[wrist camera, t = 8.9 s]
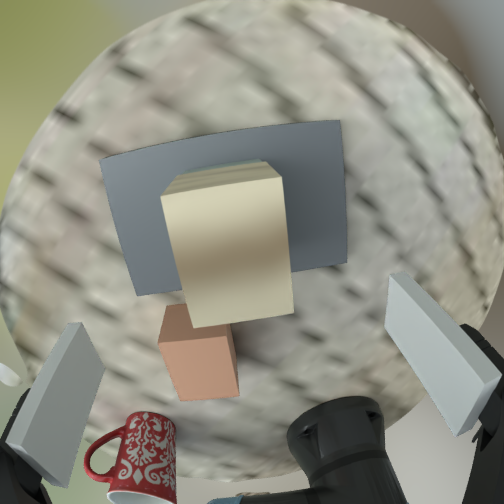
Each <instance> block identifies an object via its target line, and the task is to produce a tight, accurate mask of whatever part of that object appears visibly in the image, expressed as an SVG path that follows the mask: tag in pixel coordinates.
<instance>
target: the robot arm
mask: <svg viewBox="0 0 504 504" xmlns="http://www.w3.org/2000/svg"><path fill="white" fill-rule="evenodd" d="M384 327H385V329H386V330H387V332H388V333H389V335H390V336H391V338H392V339H393V341H394V342H395V343H396V345H397V346H398V348H399V349H400V351H401V352H402V354H403V355H404V357H405V358H406V360H407V361H408V363H409V364H410V366H411V367H412V369H413V370H414V372H415V374H416V375H417V377H418V378H419V380H420V381H421V383H422V384H423V386H424V387H425V389H426V391H427V392H428V394H429V395H430V397H431V399H432V400H433V402H434V403H435V405H436V407H437V408H438V410H439V411H440V413H441V415H442V416H443V418H444V420H445V421H446V423H447V425H448V426H449V428H450V430H451V431H452V433H453V435H454V436H455V437H457V436H459V435H461V434H463V433H465V432H466V431H468V430H470V429H472V428H473V426H474V425H475V423H476V421H477V420H478V419H479V420H480V421H481V423H482V425H481V427H480V428H479V430H478V432H477V433H476V434H475V436H474V437H473V440H472V442H473V443H474V442H475V440H476V439H477V438H478V441H477V446H476V451H475V456H474V461H473V465H472V469H471V473H470V477H469V481H468V485H467V488H466V492H465V495H464V499H463V502H462V504H504V359H503V358H502V357H501V355H499V354H498V352H497V351H496V350H495V349H494V348H493V347H491V345H490V344H489V342H488V341H487V340H485V339H484V337H483V336H482V335H481V334H480V333H479V332H478V331H477V330H476V329H474V328H473V327H471V326H469V325H467V324H462V325H460V326H459V325H458V324H457V323H456V322H455V321H454V320H453V319H452V318H451V317H450V316H449V315H448V314H447V313H446V312H445V311H444V310H443V309H442V308H441V307H440V306H439V305H438V304H437V302H436V301H435V300H434V299H433V298H432V297H431V296H430V295H429V294H428V293H427V292H426V291H425V290H423V289H422V288H421V287H420V286H419V285H418V284H417V283H416V282H415V281H414V280H413V279H412V278H411V277H410V276H409V275H408V274H407V273H406V272H401V273H396V274H391V275H390V277H389V289H388V299H387V308H386V317H385V325H384ZM104 371H105V367H104V365H103V363H102V362H101V360H100V358H99V356H98V354H97V352H96V350H95V348H94V346H93V344H92V342H91V340H90V338H89V336H88V334H87V332H86V330H85V328H84V325H83V323H82V322H78V323H68V325H67V326H66V328H65V330H64V331H63V333H62V334H61V336H60V338H59V339H58V341H57V343H56V344H55V346H54V348H53V350H52V351H51V353H50V355H49V356H48V358H47V360H46V362H45V364H44V365H43V367H42V369H41V371H40V373H39V374H38V376H37V378H36V380H35V382H34V384H33V386H32V387H31V388H29V389H28V390H27V391H26V392H25V393H24V394H23V395H22V396H21V398H20V400H19V401H18V403H17V405H16V408H15V409H14V411H13V413H12V416H11V417H10V419H9V422H8V423H7V426H6V428H5V430H4V432H3V434H2V436H1V439H0V504H52V502H51V500H50V498H49V495H48V493H47V491H46V489H45V487H44V486H43V484H42V483H41V480H42V477H43V478H44V479H45V480H46V481H48V482H49V483H50V484H51V485H54V486H59V487H64V488H68V485H69V481H70V477H71V473H72V469H73V466H74V462H75V459H76V455H77V452H78V448H79V445H80V442H81V439H82V435H83V432H84V429H85V426H86V423H87V420H88V417H89V413H90V410H91V408H92V405H93V402H94V399H95V396H96V393H97V390H98V387H99V385H100V382H101V379H102V376H103V374H104ZM384 432H385V431H384V417H383V414H382V412H381V410H380V408H379V406H378V404H377V403H376V402H375V401H374V400H372V399H369V398H366V397H347V398H341V399H337V400H333V401H330V402H327V403H324V404H321V405H319V406H317V407H315V408H313V409H311V410H309V411H307V412H306V413H304V414H303V415H301V416H300V417H299V418H298V419H296V420H295V421H294V422H293V424H292V425H291V426H290V428H289V430H288V432H287V441H288V445H289V449H290V452H291V453H292V455H293V456H294V458H295V459H296V461H297V462H298V464H299V465H300V467H301V468H302V470H303V471H304V472H305V474H306V475H307V477H308V480H309V484H310V488H308V489H302V490H295V491H289V492H281V493H272V494H263V495H252V496H244V495H240V496H239V497H229V498H217V499H213V500H211V501H210V502H208V503H207V504H409V503H407V500H406V498H405V496H404V493H403V491H402V488H401V486H400V483H399V481H398V479H397V477H396V474H395V472H394V469H393V467H392V465H391V462H390V460H389V458H388V455H387V453H386V450H385V433H384Z"/></svg>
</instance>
